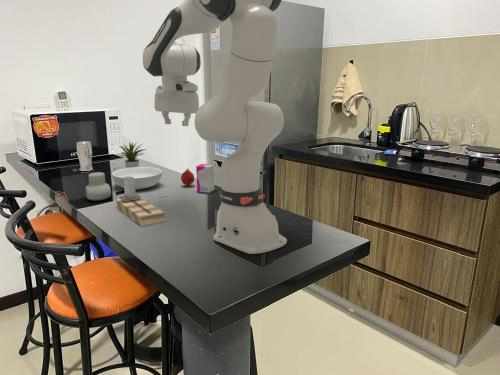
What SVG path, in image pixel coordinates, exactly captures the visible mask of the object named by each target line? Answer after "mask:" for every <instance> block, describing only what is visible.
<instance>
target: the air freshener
mask: <svg viewBox="0 0 500 375" xmlns="http://www.w3.org/2000/svg"><path fill="white" fill-rule="evenodd" d="M87 177H88V184H87V185H85V194H86V199H88V200H89V201H93V202H94V201H102V200H103V201H104V200H107V199H108V198H110V197H111V195H112V191H111V190H112V189H111V186H110V184H109V183H107V182H106V173H104V172H98V171H97V172H90V173H89V174H88V176H87Z"/></svg>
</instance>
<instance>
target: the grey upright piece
mask: <svg viewBox="0 0 500 375" xmlns="http://www.w3.org/2000/svg"><path fill="white" fill-rule="evenodd" d="M123 179H124V188H123V189H124V195H120V196H119V197H120V198H119V199H121V200H122V201H124V202H126V201H132V200H138V199H141V198H142V197H141V195H139V193H136V190H135V181H134V177H130V176H128V177H124V178H123Z"/></svg>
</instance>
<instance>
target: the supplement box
mask: <svg viewBox="0 0 500 375" xmlns="http://www.w3.org/2000/svg"><path fill="white" fill-rule="evenodd" d="M195 171H196V193H197V194H205V195H206V194H208V195H209V194H212V193H213V192H215V190H216V189H215V164H214V163H213V164H212V163H211V164H210V163H201V164H198V165H196V170H195Z"/></svg>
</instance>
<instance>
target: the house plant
mask: <svg viewBox="0 0 500 375" xmlns="http://www.w3.org/2000/svg"><path fill="white" fill-rule="evenodd" d="M128 142H129V143H128V146H129V148H128V146H127V145H126V143H123V145H119V147H120V148H121V149H122V150H123V152H120V154H121V155H120V157H125V158H127V159H125V160H124V165H125V168H130V167H140V159H137V158H138V157H139V156H145V153H144V152H143V151H146V150H148V149H146V148H145V149H140V148H142V146H143V143H141V144H139V145H138V146H137V147H136V145H137V144H138V141H137V142H135V143H133V142H132V143H131V141H128ZM135 147H136V148H135ZM134 149H135V150H134ZM138 149H139V150H138Z"/></svg>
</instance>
